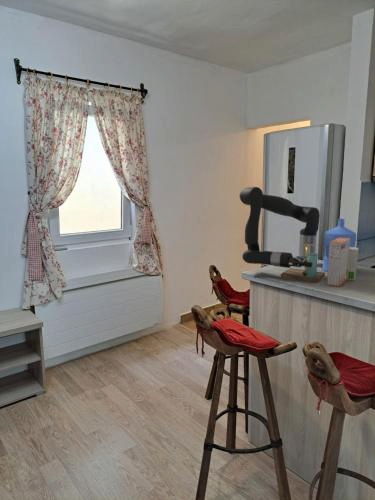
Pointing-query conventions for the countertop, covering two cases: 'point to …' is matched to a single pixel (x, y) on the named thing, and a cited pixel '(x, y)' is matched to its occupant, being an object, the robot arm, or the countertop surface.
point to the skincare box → (352, 263)
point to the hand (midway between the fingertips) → (314, 263)
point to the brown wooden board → (301, 275)
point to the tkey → (307, 250)
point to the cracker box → (338, 261)
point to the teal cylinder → (312, 270)
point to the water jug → (334, 234)
